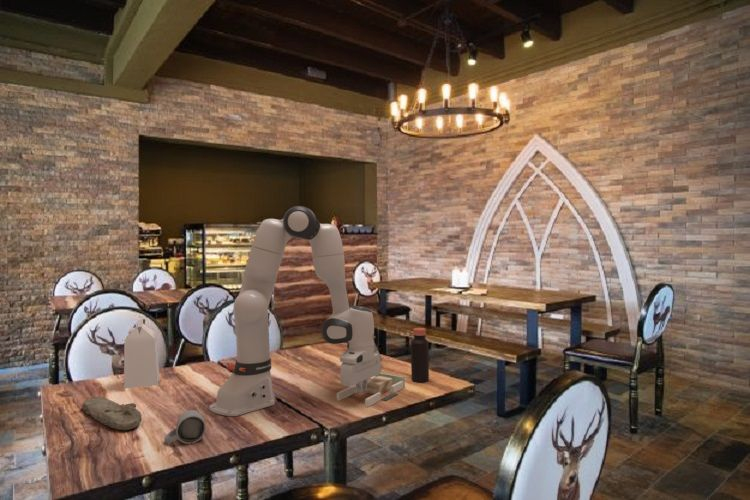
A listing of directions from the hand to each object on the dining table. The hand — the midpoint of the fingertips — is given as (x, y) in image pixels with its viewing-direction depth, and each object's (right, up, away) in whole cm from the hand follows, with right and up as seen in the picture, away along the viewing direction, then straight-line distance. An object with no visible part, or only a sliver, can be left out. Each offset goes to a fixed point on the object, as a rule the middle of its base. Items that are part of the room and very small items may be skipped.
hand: (362, 392), depth 167 cm
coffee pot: (-1, -1, +45) cm, 45 cm away
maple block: (+6, -2, +8) cm, 10 cm away
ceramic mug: (-49, -4, -32) cm, 59 cm away
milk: (-86, -3, +20) cm, 88 cm away
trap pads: (+5, -2, +6) cm, 8 cm away
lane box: (+3, -2, +4) cm, 6 cm away
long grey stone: (-80, -4, -14) cm, 81 cm away
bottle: (+22, -1, +20) cm, 29 cm away
